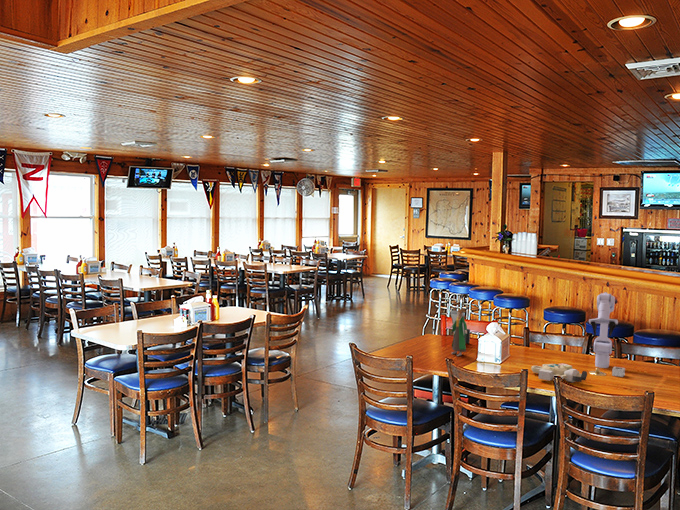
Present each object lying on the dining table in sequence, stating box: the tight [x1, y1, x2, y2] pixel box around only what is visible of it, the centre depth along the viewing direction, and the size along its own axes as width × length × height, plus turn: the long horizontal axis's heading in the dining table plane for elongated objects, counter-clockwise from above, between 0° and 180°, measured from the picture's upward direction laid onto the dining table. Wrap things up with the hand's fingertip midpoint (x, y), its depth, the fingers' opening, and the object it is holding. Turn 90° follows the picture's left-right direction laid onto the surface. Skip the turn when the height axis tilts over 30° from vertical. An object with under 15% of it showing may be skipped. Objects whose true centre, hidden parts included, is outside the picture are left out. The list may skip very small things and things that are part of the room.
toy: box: [531, 362, 588, 383], centre depth 321 cm, size 25×8×30 cm
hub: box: [588, 367, 607, 377], centre depth 328 cm, size 9×9×4 cm
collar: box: [611, 366, 626, 378], centre depth 326 cm, size 5×5×4 cm
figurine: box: [449, 307, 468, 357], centre depth 370 cm, size 16×7×30 cm, turn 27°
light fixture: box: [449, 310, 471, 345], centre depth 399 cm, size 11×17×24 cm, turn 152°
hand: (602, 335), depth 319 cm, fingers open, 7 cm apart
